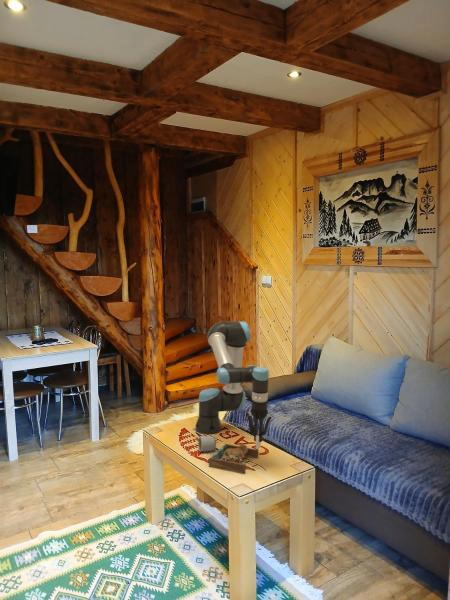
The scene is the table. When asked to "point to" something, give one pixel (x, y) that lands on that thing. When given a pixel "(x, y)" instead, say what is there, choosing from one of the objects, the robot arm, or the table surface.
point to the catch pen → (227, 465)
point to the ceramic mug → (207, 443)
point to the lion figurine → (236, 452)
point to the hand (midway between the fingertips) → (257, 447)
